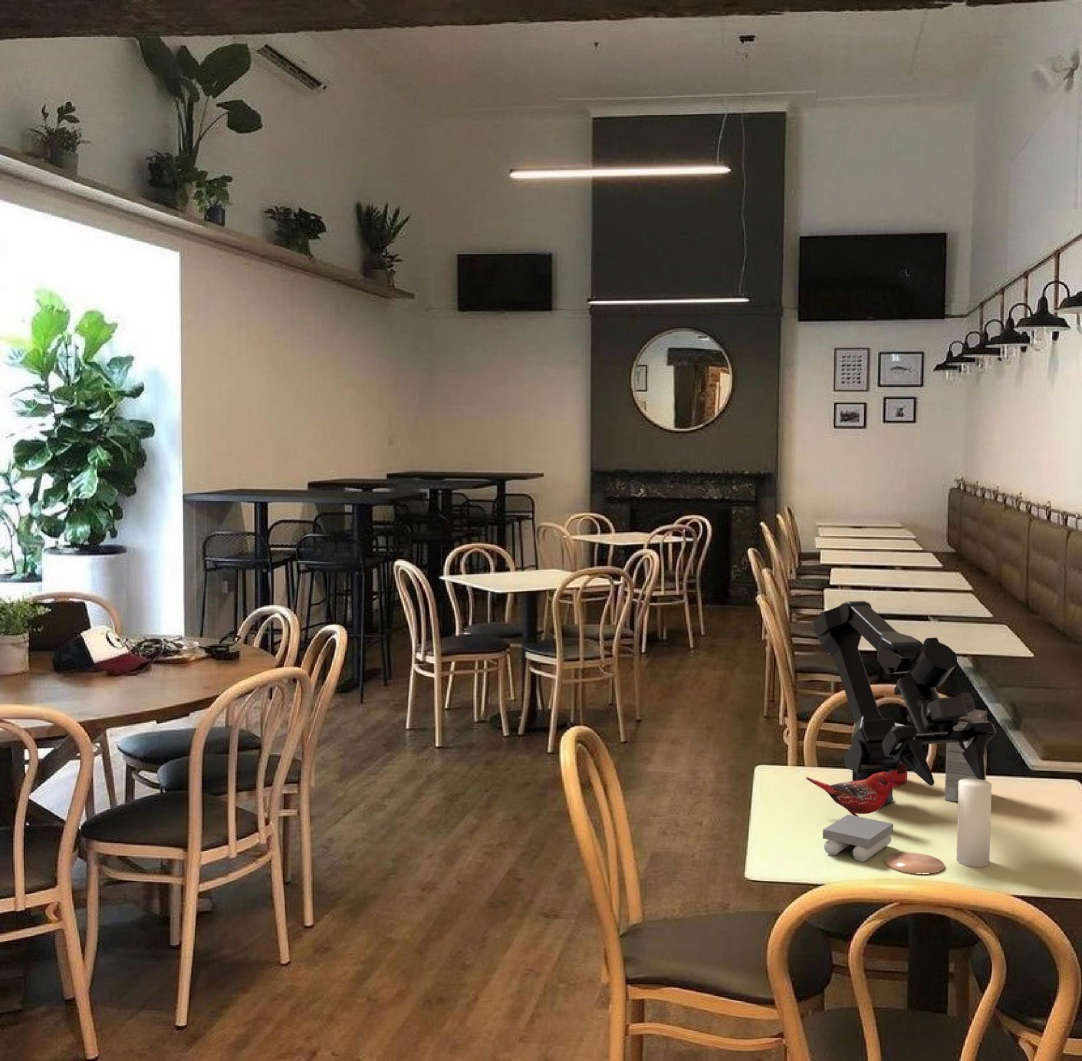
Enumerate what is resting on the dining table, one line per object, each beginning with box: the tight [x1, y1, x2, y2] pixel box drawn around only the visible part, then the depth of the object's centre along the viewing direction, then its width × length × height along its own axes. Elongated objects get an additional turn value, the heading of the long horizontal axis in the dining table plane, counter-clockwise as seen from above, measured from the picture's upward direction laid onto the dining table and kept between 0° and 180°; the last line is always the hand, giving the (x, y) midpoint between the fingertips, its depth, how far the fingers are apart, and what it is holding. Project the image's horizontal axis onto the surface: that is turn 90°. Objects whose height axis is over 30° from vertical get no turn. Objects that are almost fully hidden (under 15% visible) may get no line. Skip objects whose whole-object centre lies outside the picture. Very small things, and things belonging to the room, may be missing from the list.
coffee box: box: [944, 708, 988, 802], centre depth 232 cm, size 9×6×16 cm
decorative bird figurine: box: [805, 772, 898, 817], centre depth 218 cm, size 3×18×10 cm, turn 50°
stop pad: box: [884, 852, 945, 875], centre depth 196 cm, size 9×9×1 cm
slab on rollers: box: [822, 814, 894, 863], centre depth 203 cm, size 8×10×4 cm
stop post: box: [956, 779, 992, 868], centre depth 197 cm, size 5×5×13 cm
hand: (957, 782), depth 201 cm, fingers open, 9 cm apart
